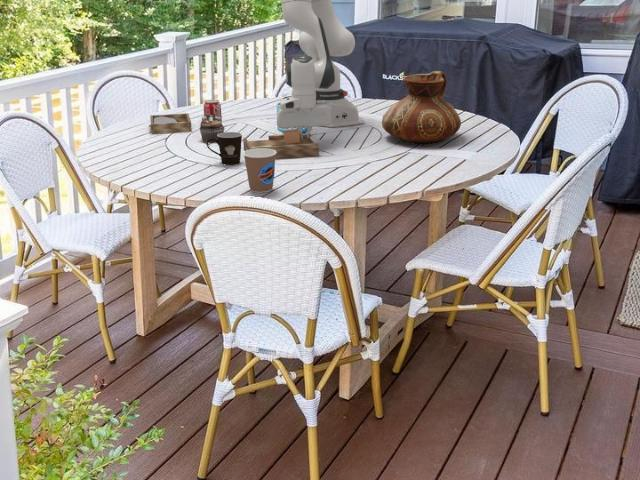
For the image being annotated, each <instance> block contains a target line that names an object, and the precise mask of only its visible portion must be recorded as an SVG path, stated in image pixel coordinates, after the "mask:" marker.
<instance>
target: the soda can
mask: <svg viewBox="0 0 640 480" xmlns="http://www.w3.org/2000/svg"><path fill="white" fill-rule="evenodd" d="M221 105H222V104H221V103H220V100H219V99H206V100H205V101H204V103H203V117H204V116H207V115H210V114H212V115H213V116H215V115H219V117H221V119H220V121H221V122H222V123H223V121H222V120H223V119H222V117H223V116H222V106H221Z"/></svg>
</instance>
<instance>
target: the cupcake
mask: <svg viewBox="0 0 640 480" xmlns="http://www.w3.org/2000/svg"><path fill="white" fill-rule="evenodd" d="M220 119H221V117H219V115H215V116H213V115H212V114H210V115H207V116H204V115H203V116H202V117H201V122H200V123H199V124H200V125H199V132H200V136H201V140H202V142H203V143H206V142H207V141H208V140H210V139H215V140H218V139H217V135H218V134H220V133H224V132H225V126H224V125H223V121H222V122H221V121H220ZM214 143H215V141H210V142H209V143H208V144H214ZM215 144H216V143H215Z"/></svg>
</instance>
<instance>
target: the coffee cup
mask: <svg viewBox="0 0 640 480" xmlns="http://www.w3.org/2000/svg"><path fill="white" fill-rule="evenodd" d="M276 153H277V152H276V151H275V150H272V149H266V148H257V149H250V150H247V151H243V153H242V154H243V156H244V163H245V168H246V169H245V170H246V175H247V180H248V186H249V189H250V190H249V191H251V192H252V193H255V194H256V193H258V194H264V193H263V192H265V193H269V192H272V191H273V187H274V179H275V173H276V172H275V171H276V170H275V169H276V165H275V164H276V159H275V156H276V155H275V154H276Z"/></svg>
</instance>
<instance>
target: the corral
mask: <svg viewBox="0 0 640 480" xmlns="http://www.w3.org/2000/svg"><path fill="white" fill-rule="evenodd" d="M149 117H150V129H151V130H150V131H151V135H161V134H162V135H165V134H178V133H191V132H192V121H191V117H190V115H189V113H186V112H185V113H171V114H169V113H168V114H154V115H152V114H151V115H149ZM156 117H167V118H173V119H175V120H176V121H177V122H176V123H160V124H154V118H156Z"/></svg>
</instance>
